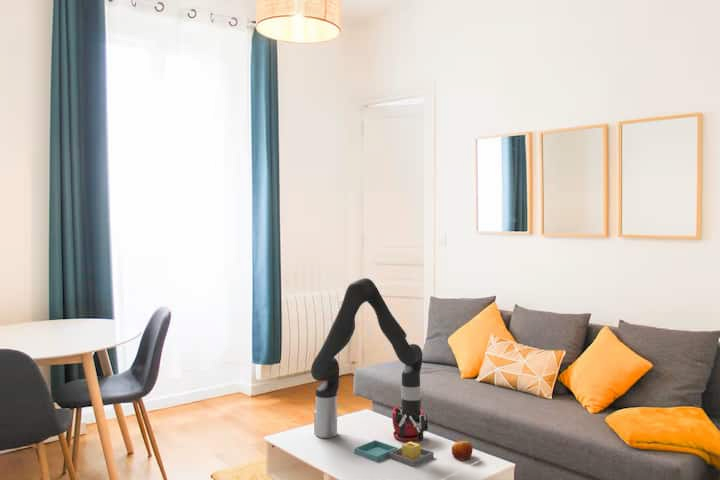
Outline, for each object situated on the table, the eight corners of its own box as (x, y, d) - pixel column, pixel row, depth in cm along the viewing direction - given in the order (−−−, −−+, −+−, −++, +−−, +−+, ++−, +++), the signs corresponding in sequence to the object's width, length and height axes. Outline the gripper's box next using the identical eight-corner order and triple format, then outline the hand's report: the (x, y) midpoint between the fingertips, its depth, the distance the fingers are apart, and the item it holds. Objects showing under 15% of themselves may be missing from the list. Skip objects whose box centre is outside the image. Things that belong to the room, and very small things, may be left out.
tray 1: (354, 454, 238) (354, 448, 238) (375, 445, 247) (375, 439, 247) (376, 462, 230) (376, 456, 230) (397, 453, 238) (397, 447, 238)
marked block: (402, 457, 233) (402, 444, 233) (410, 454, 237) (410, 441, 237) (412, 461, 230) (412, 447, 230) (420, 457, 234) (420, 444, 233)
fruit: (463, 461, 227) (456, 440, 230) (452, 466, 233) (446, 445, 236) (480, 457, 230) (473, 436, 234) (469, 462, 237) (462, 441, 240)
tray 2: (389, 458, 233) (388, 452, 233) (409, 450, 242) (409, 444, 242) (413, 467, 225) (413, 461, 225) (433, 458, 234) (433, 452, 234)
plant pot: (407, 446, 246) (406, 417, 246) (386, 437, 257) (386, 409, 256) (429, 439, 254) (429, 411, 254) (408, 430, 265) (408, 403, 264)
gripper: (390, 395, 235) (391, 436, 235) (419, 402, 225) (419, 445, 225) (403, 391, 240) (403, 431, 241) (431, 398, 230) (432, 440, 231)
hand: (411, 438), depth 233 cm, fingers open, 8 cm apart
